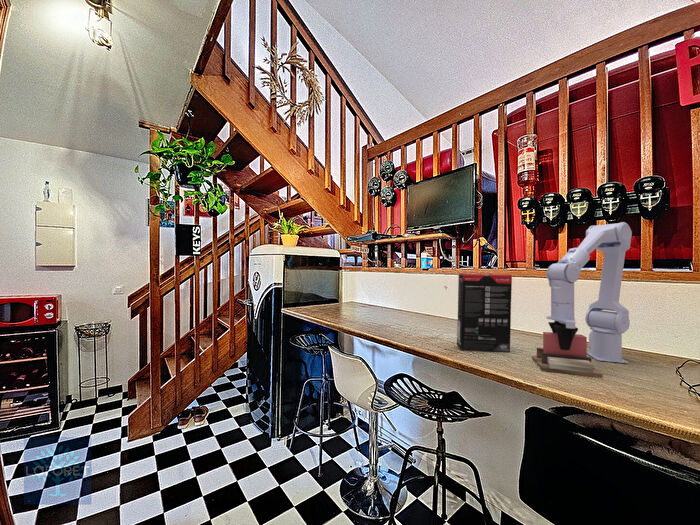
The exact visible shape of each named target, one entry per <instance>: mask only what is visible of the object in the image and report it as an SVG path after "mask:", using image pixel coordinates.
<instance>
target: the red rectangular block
mask: <svg viewBox="0 0 700 525" xmlns="http://www.w3.org/2000/svg"><path fill="white" fill-rule="evenodd" d="M542 335H543V336H542V337H543V338H542V340H543V341H542V344H543V347H542V348H543V353H550V354H561V355H572V356H582V357H588V354H587V351H588V349H587V348H588V347H587V346H588V345H587V344H588V341H587V338H588V337H587V336H585V335H583V334H578V333H576V334H575V335H574V337H573V340H572V343H571V347H570V350H561V349H560V346H559V340H558V335H557V333H553V332H550V331H542Z"/></svg>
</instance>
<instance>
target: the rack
mask: <svg viewBox="0 0 700 525" xmlns="http://www.w3.org/2000/svg"><path fill="white" fill-rule="evenodd" d="M531 357H532V358H531V359H532V361H533V362H534V361H535V362H536V363H537V364H536V363H535V362H534V363H535V364H536V365H537V366H539V367H540V368H539V367H538V368H539V369H540V370H541V371H542V372H546V373H555V374H563V375H574V376H575V375H576V376H580V377H581V376H582V377H583V376H584V377H591V378H593V377H594V378H601V379H602V378H604V376H603V375H604V374H603V373H601V371H599V370H598V369H597V368H595V367H594V364H593V362H592V356H590V357H589V356H587V357H582V356H572V355H561V354H550V353H543V347H536V355H531Z"/></svg>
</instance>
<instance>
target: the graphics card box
mask: <svg viewBox="0 0 700 525" xmlns="http://www.w3.org/2000/svg"><path fill="white" fill-rule="evenodd" d="M512 282H513V276H512V274H509V273H507V274H503V273H501V274H500V273H459V274H458V286H457V287H458V288H457V290H458V291H457V292H458V293H457V324H456V325H457V331H456V345H457V346H458V347H459V349H461V350H462V351H463V350H467V351H480V352H481V351H484V352H487V351H488V352H502V353H510V352H511V331H512V330H511V328H512V327H511V326H512V325H511V321H512V320H511V319H512V318H511V317H512V316H511V315H512V313H511V312H512Z"/></svg>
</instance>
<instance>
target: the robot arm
mask: <svg viewBox="0 0 700 525" xmlns="http://www.w3.org/2000/svg"><path fill="white" fill-rule="evenodd" d="M632 235H633V232H632V229H631V227H630V225H629V224H628V223H627V222H625V221H621V222H618V223H608V224H599V225H598V224H597V225H594V224H593V225H590V226H589V227H588V229H586V230H585V237H584V239H583V240H582V241H581V243H580V244H579V245H578V246H577V247H573V248H569V249H568V251H567V253H565V255H563V256H562V258H560V259H559V261H557V262H556V263H552V264H550V265H549V266H548V268H547V269H546V272H545V276H546V278H547V280H548V286H549V287H550V295H551V296H550V315H547V316H546V319H547V320H552V321H549V322H548V325H549V327H550V329H551V331H552V333H557V335H558V340H559V346H560V349H561V350H570V347H571V343H572V340H573V337H574V335H575V334H577V332H579V328H578V327H577V326H576V317H575V283H576V282H577V281H579V279H580V273H582V269H583V267H584V266H585V265H586V264H587V263H588V262H589V261H590V258H591V257H590V254H592V252H593V251H595V250H597V251H599V252H601V253H602V254H603V255H604V256H603V262H602V268H601V278H600V283H599V292H598V297H597V298H598V299H597V300H596V301H594V302H592V303H590V304H589V306H588V310H587V312H586V314H585V318H584V320H585V323H586V325H587V326H588V327H589V330H591V331H590V332H589V334H588V350H587V355H588V356H590V357H591V358H593V359H595V361H601V362H609V363H610V362H611V363H621V364H629V361H628V360H625V359H624V358H623V354H622V352H623V351H622V350H623V348H622V347H623V346H622V344H623V338H622V337H623V336H622V334H625V333H626V332H627V331H628V330H629V329H630V324H631V322H630V317H629V314H630V311H629V310H628V309H627V308H626V307H625V306H624V305H622V304H621V303H620V295H621V289H622V288H621V287H622V280H623V273H624V264H625V257H626V252H627V251H629V250H630V249H631V248H630V247H631V243H632V242H631V241H632Z"/></svg>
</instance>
